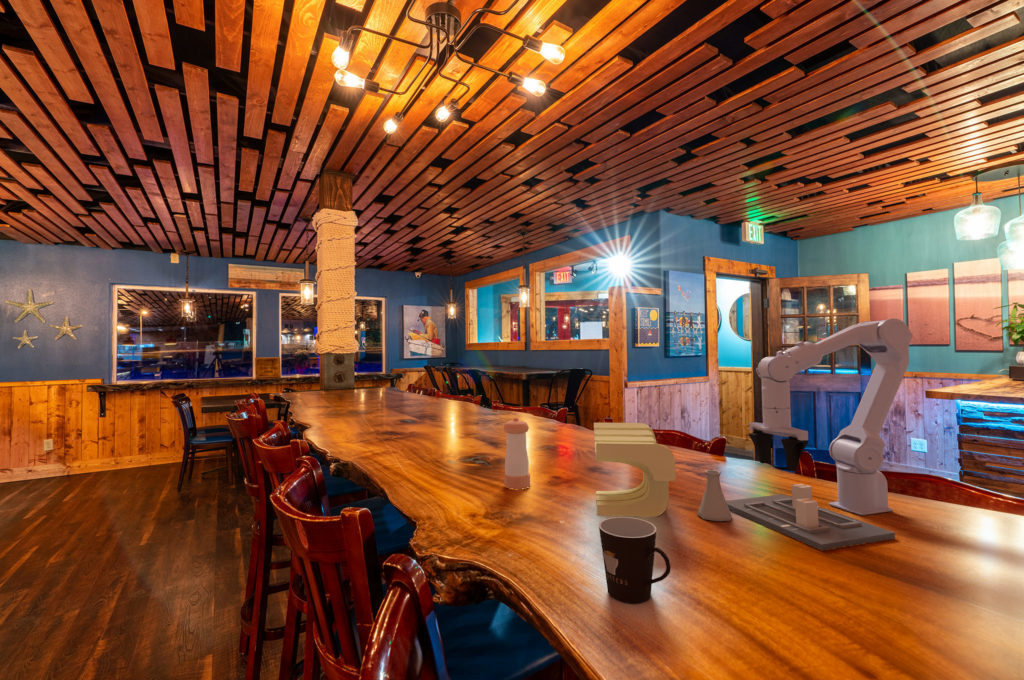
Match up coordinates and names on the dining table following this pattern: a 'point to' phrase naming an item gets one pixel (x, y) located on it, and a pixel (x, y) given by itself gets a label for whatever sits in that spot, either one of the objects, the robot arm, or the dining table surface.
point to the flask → (714, 500)
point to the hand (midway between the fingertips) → (778, 466)
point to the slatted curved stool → (643, 452)
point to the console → (828, 535)
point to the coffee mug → (630, 558)
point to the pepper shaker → (516, 455)
